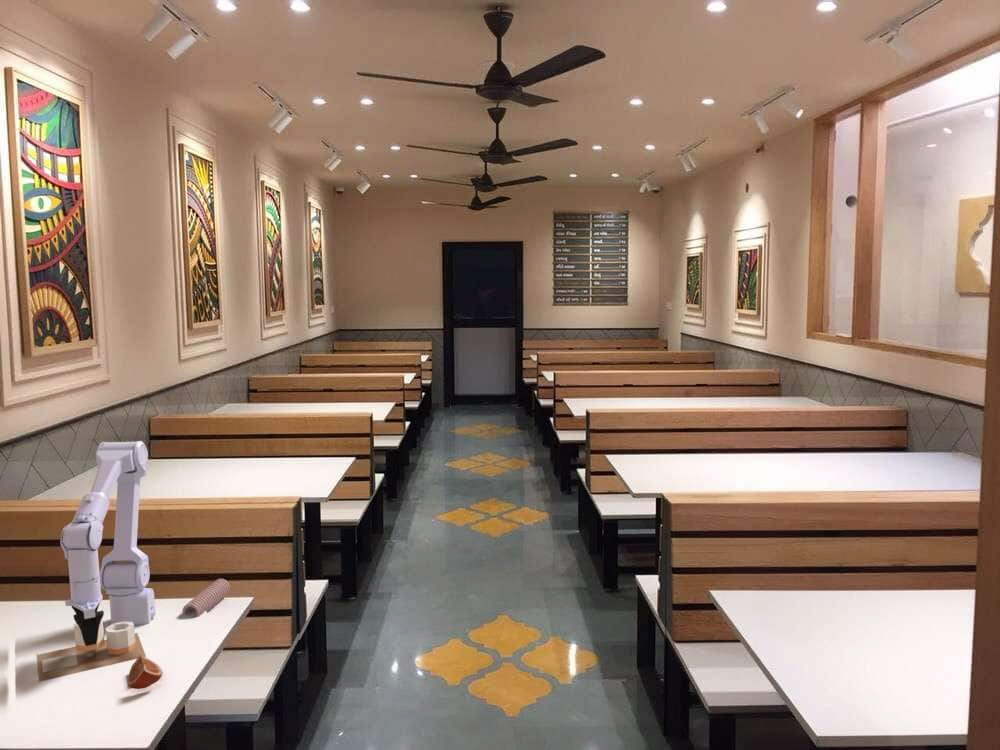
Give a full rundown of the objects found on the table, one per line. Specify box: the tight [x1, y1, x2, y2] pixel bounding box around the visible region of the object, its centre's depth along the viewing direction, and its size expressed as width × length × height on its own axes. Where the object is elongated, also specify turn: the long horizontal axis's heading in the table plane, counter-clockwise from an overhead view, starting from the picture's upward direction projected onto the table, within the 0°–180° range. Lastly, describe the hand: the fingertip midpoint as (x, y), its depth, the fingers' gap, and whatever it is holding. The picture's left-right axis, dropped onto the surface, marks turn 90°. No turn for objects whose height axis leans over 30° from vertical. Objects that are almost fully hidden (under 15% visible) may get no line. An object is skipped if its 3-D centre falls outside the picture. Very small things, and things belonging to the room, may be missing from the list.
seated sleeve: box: [105, 621, 136, 655], centre depth 178 cm, size 5×5×5 cm
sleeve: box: [73, 619, 105, 651], centre depth 174 cm, size 5×5×5 cm
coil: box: [182, 578, 231, 618], centre depth 204 cm, size 5×5×18 cm
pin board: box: [36, 632, 147, 682], centre depth 175 cm, size 20×14×5 cm
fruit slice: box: [126, 655, 164, 690], centre depth 165 cm, size 8×7×5 cm
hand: (89, 639), depth 175 cm, fingers closed on sleeve, 5 cm apart
